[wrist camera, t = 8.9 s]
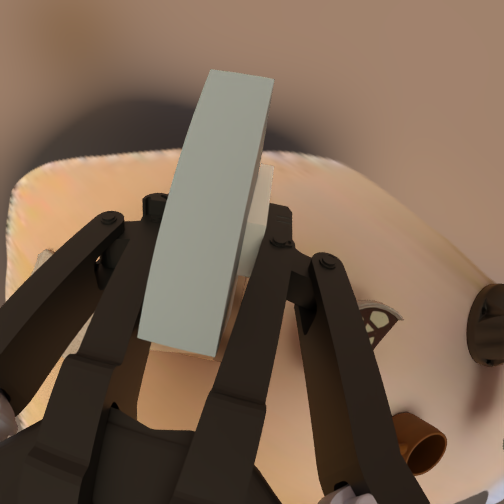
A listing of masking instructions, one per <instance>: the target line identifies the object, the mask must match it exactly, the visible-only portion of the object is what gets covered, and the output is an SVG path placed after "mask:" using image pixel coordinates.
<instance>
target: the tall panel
mask: <svg viewBox="0 0 504 504" xmlns="http://www.w3.org/2000/svg"><path fill="white" fill-rule="evenodd" d="M273 85H274V79H271V78H266V77H260V76H254V75H248V74H242V73H235V72H228V71H220V70H210V73H209V75H208V78H207V80H206V83H205V85H204V88H203V91H202V94H201V96H200V99H199V102H198V104H197V107H196V110H195V113H194V115H193V118H192V121H191V124H190V127H189V130H188V133H187V136H186V139H185V142H184V145H183V148H182V151H181V155H180V158H179V161H178V164H177V168H176V171H175V174H174V178H173V181H172V185H171V188H170V192H169V195H168V199H167V202H166V206H165V210H164V214H163V217H162V221H161V225H160V229H159V233H158V237H157V241H156V246H155V250H154V254H153V259H152V263H151V268H150V272H149V277H148V282H147V287H146V292H145V297H144V302H143V307H142V313H141V319H140V324H139V330H138V336H137V338H140V339H143V340H147V341H150V342H154V343H158V344H161V345H165V346H169V347H173V348H177V349H181V350H185V351H189V352H194V353H198V354H202V355H207V356H211V357H215V356H216V353H217V351H218V348H219V345H220V342H221V340H222V337H223V334H224V331H225V329H226V326H227V323H228V320H229V318H230V315H231V310H232V305H233V300H234V295H235V290H236V285H237V280H238V276H239V275H237V271H238V266H239V260H240V255H241V250H242V244H243V239H244V234H245V229H246V224H247V219H248V215H249V211H250V207H251V203H252V198H253V194H254V190H255V186H256V182H257V178H258V173H259V167H260V161H261V155H262V149H263V143H264V137H265V131H266V125H267V120H268V114H269V108H270V103H271V96H272V91H273Z"/></svg>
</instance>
